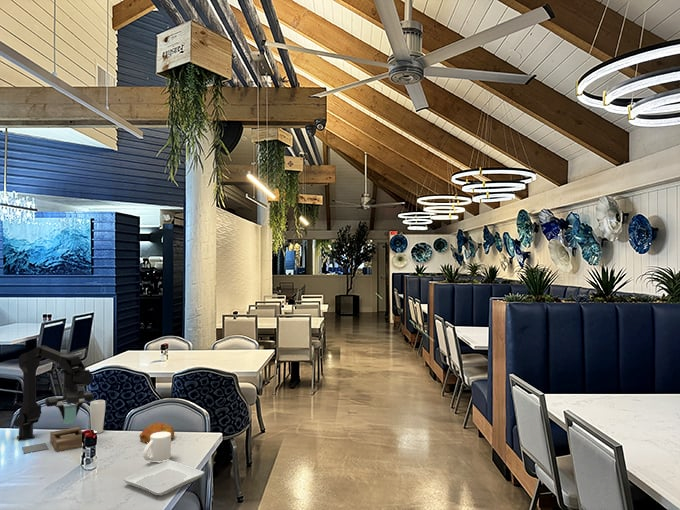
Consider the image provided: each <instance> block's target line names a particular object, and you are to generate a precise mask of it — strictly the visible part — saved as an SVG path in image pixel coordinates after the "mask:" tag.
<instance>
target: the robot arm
mask: <svg viewBox="0 0 680 510" xmlns="http://www.w3.org/2000/svg"><path fill="white" fill-rule="evenodd" d="M43 358H45V359H48V360H50V361H51V362H52V361H53V362H54V363H57V364H58V366H59V367H60V368H61V369H62V370H61V371H60V372H59V374H62V375H63V380H62V383H63V386H62V387H63V388H62V397H61V398H57V397H56V396H52V397H46V398H45V400H44V401H45V405H46V407H56V408H58V410H59V412H60V415H61V418H62V420H63V419H64V406H65V405H64V403H66V404H67V405H72V404H74V405H75V406H76V417H77V415H78V414H79V411H80V409H81V406H82V405H83V404H85V403H86V402H91V401H95V399H94V398H95V396H94V393H92V392H91V391H90V392H89V391H87V392H85V390H78V386H79V385H81V386H90V385H92V383H93V381H94V375H93V373H91V371H90V369H86V367H85V364H84V363H83V361H82V360H81V357H80V356H79V355H78V354H73V353H71V354H70V353H63V352H61V351H59V350H56V349H53V348H51V347H49V346H47V345H39V346H36V347H35V348H33V349H31V350H29V351H27V352H25V353H21V354H20V355H19V356H18V367H19V369H20V370H21V372H22V373H23V377H22V378H23V379H22V380H23V382H22V384H23V388H22V389H23V392H22V394H23V395H22V396H23V402H22V405H21V407H20V409H19V410H18V411H19V413H18V416H17V417H16V418H15V420H14V421H13V426H14V427H16V428H18V435H17V436H16V439H17V440H18V441H24V440H29V439H35V434H34V424H36V423H39V420H40V417H41V415H42V405H41V404H38V402H37V377H36V376H37V373H36V371H37V370H38V368H39V366H40V364H41V363H40V362H41V359H43Z"/></svg>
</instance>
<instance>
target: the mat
mask: <svg viewBox="0 0 680 510" xmlns="http://www.w3.org/2000/svg"><path fill="white" fill-rule="evenodd" d="M21 449H22V453H23V454H24V455H25V454H26V455H27V454H31V452H32V453H36V452H43V451H47V450H49V446H48V445H47V443H46V442H41V443H37V444H31V445H25V446H22V447H21Z"/></svg>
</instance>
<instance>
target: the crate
mask: <svg viewBox="0 0 680 510" xmlns="http://www.w3.org/2000/svg"><path fill="white" fill-rule="evenodd" d="M82 432H83V430H82V428H81V426H78V427H71V428H67V429H61V430H53V431H50V439H49V443H50V445H51V446H52V447H53V450H54V451H55V453H60V451H61V452H64V451H65V450H66V451H70V450H71V451H72V450H74V449H81V448H83V447H82Z"/></svg>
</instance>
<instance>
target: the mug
mask: <svg viewBox="0 0 680 510" xmlns="http://www.w3.org/2000/svg"><path fill="white" fill-rule="evenodd" d="M171 448H172V439H171V433H170V432H156V433H153V434H152V435H151V436H150V442H149V443H146V446H145V447H144V449H143V452H142V457H143V459H144V460H145V461H149V462H150V460H151V461H163V460H167V459H169V458H170V457H171V456H172V455H171V454H172V453H171V452H172V449H171ZM148 451H149V456H148ZM170 459H171V458H170Z"/></svg>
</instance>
